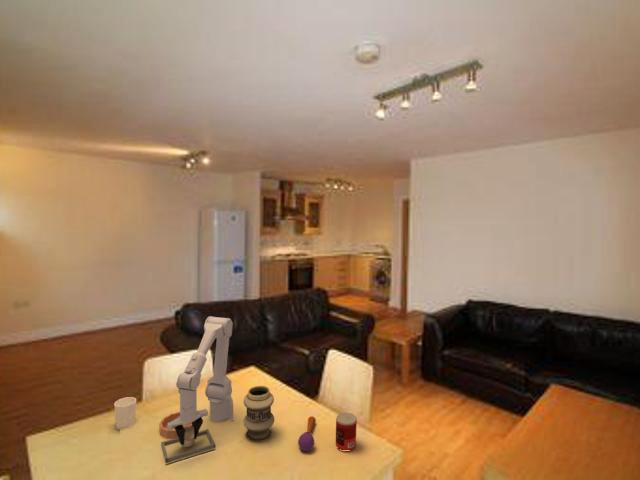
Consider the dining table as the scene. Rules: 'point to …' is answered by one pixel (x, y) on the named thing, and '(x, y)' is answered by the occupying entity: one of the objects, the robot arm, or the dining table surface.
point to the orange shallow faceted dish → (172, 433)
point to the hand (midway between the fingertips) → (188, 440)
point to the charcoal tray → (185, 454)
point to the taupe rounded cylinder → (188, 436)
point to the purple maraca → (307, 436)
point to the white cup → (125, 412)
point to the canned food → (346, 431)
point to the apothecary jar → (258, 413)
